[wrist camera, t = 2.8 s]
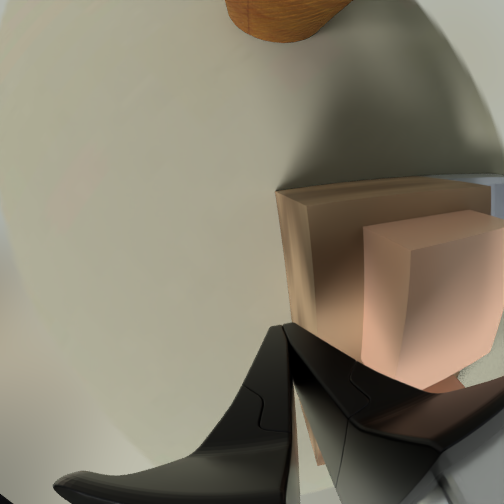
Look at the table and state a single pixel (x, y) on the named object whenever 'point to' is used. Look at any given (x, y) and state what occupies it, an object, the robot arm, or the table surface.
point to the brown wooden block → (351, 247)
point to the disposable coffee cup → (283, 17)
